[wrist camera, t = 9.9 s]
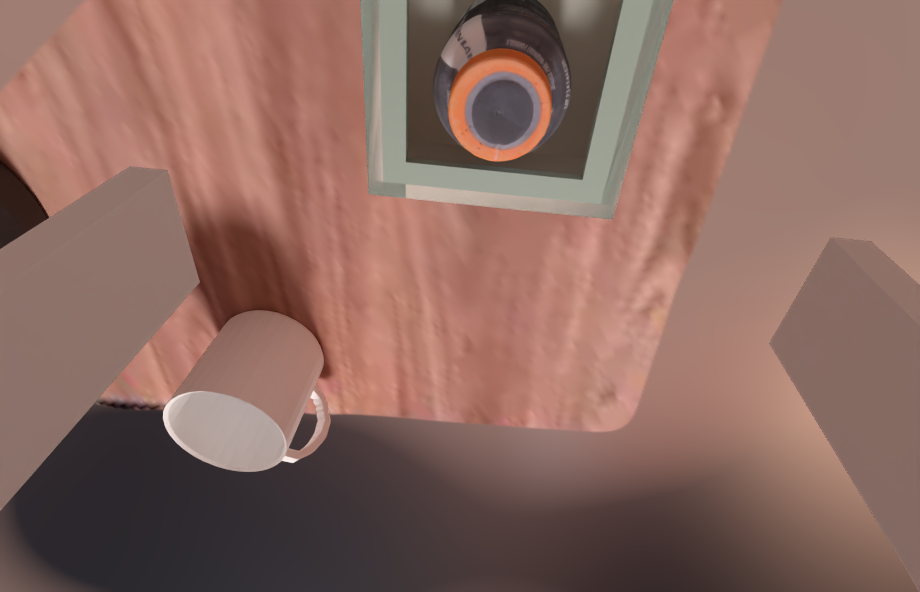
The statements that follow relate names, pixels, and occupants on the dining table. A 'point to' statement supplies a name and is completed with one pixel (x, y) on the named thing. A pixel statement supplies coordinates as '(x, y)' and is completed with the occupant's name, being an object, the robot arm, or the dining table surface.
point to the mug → (250, 394)
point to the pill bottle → (502, 79)
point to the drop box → (540, 171)
